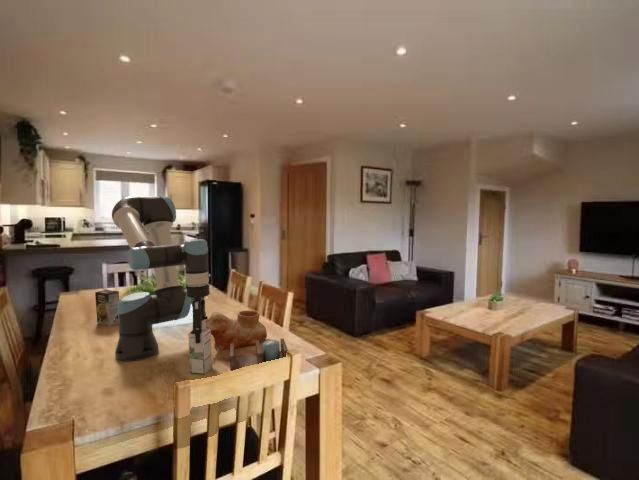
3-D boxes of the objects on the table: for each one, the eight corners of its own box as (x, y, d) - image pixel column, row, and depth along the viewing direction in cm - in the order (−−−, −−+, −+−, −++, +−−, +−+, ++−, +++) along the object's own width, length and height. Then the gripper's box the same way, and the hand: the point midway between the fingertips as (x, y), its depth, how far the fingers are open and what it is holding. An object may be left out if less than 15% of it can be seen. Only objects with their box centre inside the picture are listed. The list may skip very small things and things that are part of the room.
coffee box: (96, 324, 180) (94, 292, 178) (108, 320, 186) (106, 289, 184) (109, 326, 176) (107, 293, 175) (121, 322, 182) (119, 290, 181)
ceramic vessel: (201, 345, 151) (199, 309, 150) (262, 335, 162) (261, 302, 160) (205, 357, 138) (203, 319, 137) (271, 345, 149) (270, 310, 148)
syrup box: (212, 367, 130) (211, 328, 128) (205, 375, 124) (203, 333, 122) (198, 366, 130) (196, 327, 129) (189, 373, 125) (187, 333, 123)
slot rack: (230, 373, 124) (229, 356, 124) (230, 359, 136) (230, 343, 136) (288, 367, 129) (287, 350, 128) (283, 353, 141) (283, 338, 140)
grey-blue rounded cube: (264, 362, 130) (263, 346, 129) (262, 356, 136) (262, 340, 135) (280, 361, 131) (280, 344, 131) (278, 354, 137) (278, 338, 136)
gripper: (206, 291, 113) (209, 357, 115) (211, 277, 137) (214, 332, 139) (180, 293, 111) (184, 360, 113) (190, 278, 135) (193, 334, 137)
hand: (200, 344), depth 126 cm, fingers open, 13 cm apart
